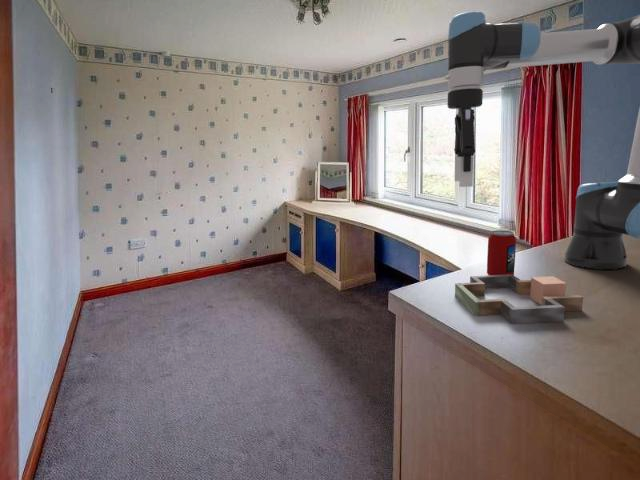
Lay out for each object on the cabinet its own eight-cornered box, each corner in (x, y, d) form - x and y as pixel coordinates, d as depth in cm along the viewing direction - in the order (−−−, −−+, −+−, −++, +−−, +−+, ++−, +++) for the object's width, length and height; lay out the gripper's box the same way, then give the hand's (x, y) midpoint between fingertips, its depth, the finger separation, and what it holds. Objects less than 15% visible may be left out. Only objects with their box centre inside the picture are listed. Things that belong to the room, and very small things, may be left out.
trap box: (538, 284, 105) (539, 273, 105) (597, 319, 84) (598, 305, 83) (448, 288, 105) (448, 277, 104) (484, 325, 83) (485, 311, 83)
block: (551, 297, 97) (553, 276, 96) (564, 305, 92) (566, 283, 91) (529, 298, 97) (531, 277, 96) (541, 306, 92) (543, 284, 91)
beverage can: (516, 280, 109) (519, 235, 106) (489, 279, 110) (491, 235, 108) (510, 272, 116) (513, 229, 113) (484, 272, 117) (486, 229, 114)
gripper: (444, 96, 108) (443, 179, 113) (451, 83, 84) (450, 189, 89) (475, 94, 106) (473, 178, 111) (491, 80, 83) (488, 188, 87)
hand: (462, 183), depth 100 cm, fingers open, 13 cm apart
